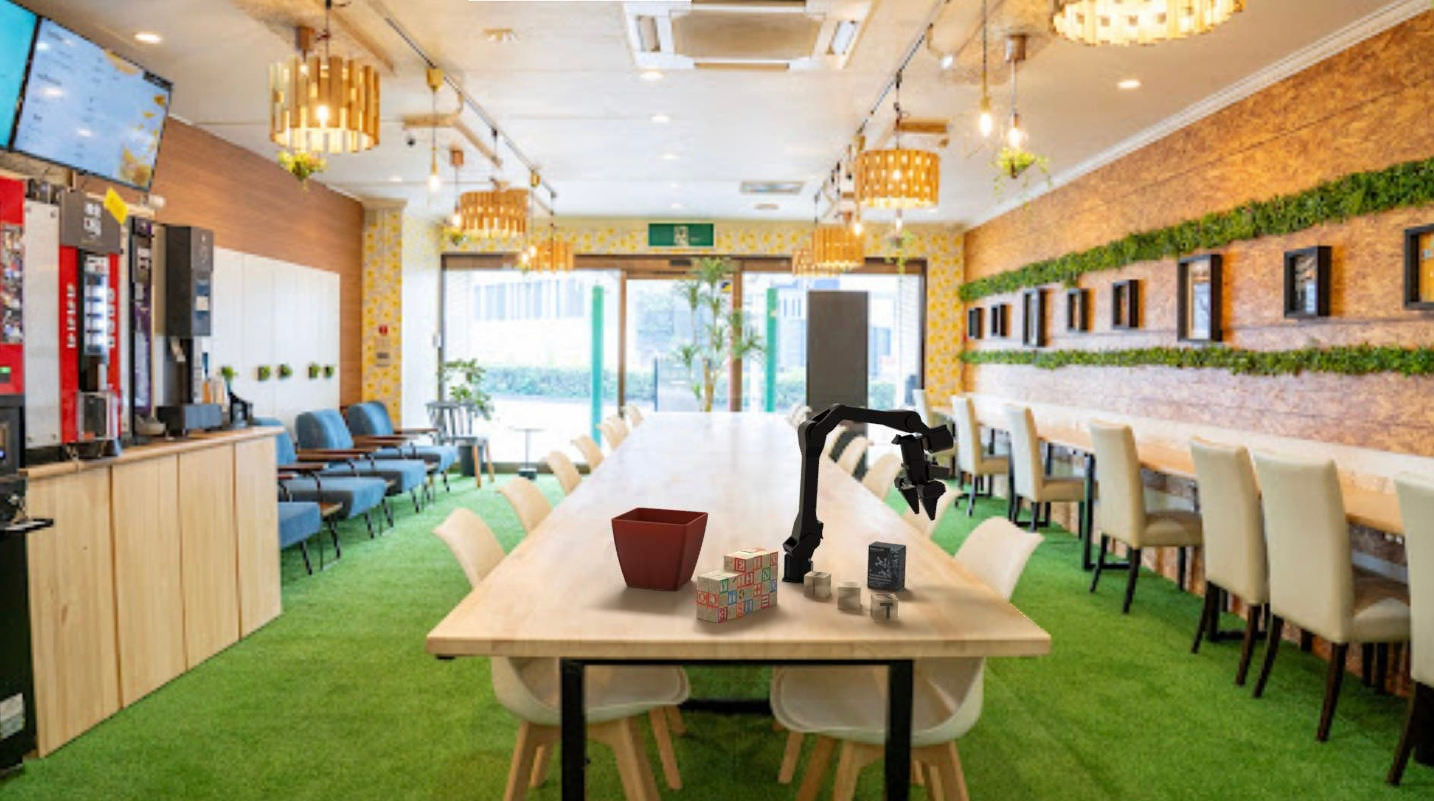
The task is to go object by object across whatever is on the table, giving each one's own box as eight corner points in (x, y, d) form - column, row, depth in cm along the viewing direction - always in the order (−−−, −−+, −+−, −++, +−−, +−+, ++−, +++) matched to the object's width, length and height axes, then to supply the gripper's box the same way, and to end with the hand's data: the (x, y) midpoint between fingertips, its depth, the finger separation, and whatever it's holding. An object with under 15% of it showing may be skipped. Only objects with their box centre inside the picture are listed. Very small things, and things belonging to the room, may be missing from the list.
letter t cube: (874, 622, 202) (874, 599, 202) (870, 615, 208) (870, 592, 207) (897, 622, 203) (898, 599, 202) (893, 615, 208) (893, 593, 207)
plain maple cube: (837, 608, 213) (837, 586, 212) (838, 602, 218) (838, 581, 217) (860, 609, 212) (860, 587, 212) (860, 604, 217) (861, 582, 216)
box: (866, 587, 231) (867, 544, 231) (874, 582, 236) (875, 540, 236) (897, 592, 227) (899, 548, 227) (905, 587, 232) (906, 544, 232)
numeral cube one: (803, 596, 223) (803, 575, 222) (810, 591, 228) (811, 570, 227) (823, 599, 221) (824, 577, 220) (830, 593, 226) (831, 572, 225)
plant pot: (708, 577, 239) (709, 511, 238) (685, 596, 220) (686, 524, 219) (636, 571, 244) (637, 506, 243) (608, 589, 226) (609, 519, 225)
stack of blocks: (718, 624, 199) (719, 565, 199) (695, 618, 203) (696, 561, 203) (777, 603, 216) (778, 550, 215) (755, 598, 220) (756, 546, 219)
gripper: (959, 454, 235) (970, 515, 237) (926, 447, 253) (937, 503, 255) (918, 465, 233) (929, 526, 234) (888, 456, 251) (899, 513, 253)
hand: (924, 517), depth 244 cm, fingers open, 9 cm apart
